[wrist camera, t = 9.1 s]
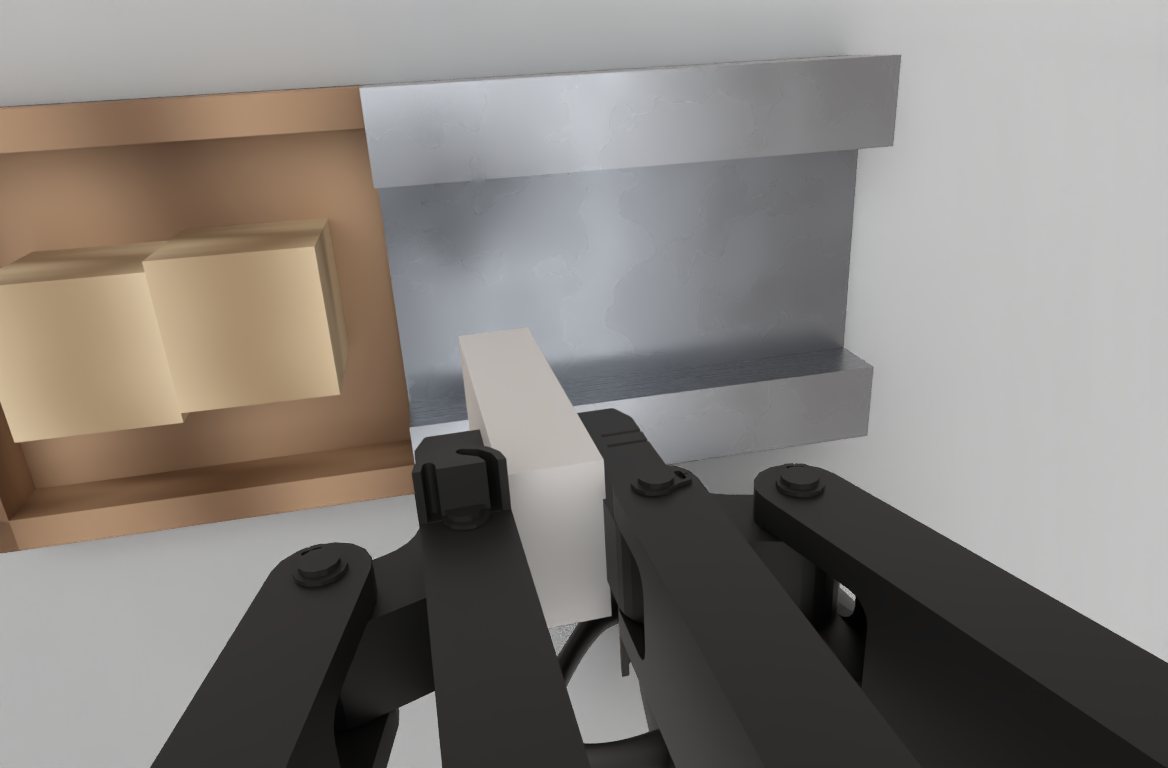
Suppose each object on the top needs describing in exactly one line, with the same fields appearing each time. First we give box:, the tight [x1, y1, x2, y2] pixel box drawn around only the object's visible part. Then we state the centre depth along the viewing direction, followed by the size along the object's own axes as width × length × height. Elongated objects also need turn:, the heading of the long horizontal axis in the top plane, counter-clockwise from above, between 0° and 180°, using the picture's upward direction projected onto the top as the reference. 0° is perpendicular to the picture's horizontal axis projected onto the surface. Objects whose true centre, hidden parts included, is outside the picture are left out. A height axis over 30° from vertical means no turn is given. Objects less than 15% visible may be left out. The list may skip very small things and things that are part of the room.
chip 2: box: [142, 218, 349, 413], centre depth 22 cm, size 4×4×4 cm
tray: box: [0, 85, 415, 553], centre depth 23 cm, size 12×12×2 cm
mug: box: [557, 588, 855, 768], centre depth 27 cm, size 8×12×10 cm
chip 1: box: [0, 240, 190, 443], centre depth 22 cm, size 4×4×4 cm
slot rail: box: [359, 55, 901, 465], centre depth 25 cm, size 15×12×3 cm
